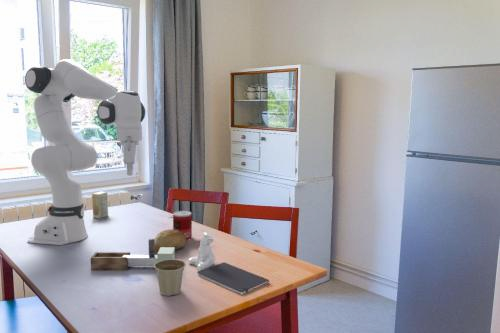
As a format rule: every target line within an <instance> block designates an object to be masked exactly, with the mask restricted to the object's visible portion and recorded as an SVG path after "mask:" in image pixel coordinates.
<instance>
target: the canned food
mask: <svg viewBox="0 0 500 333" xmlns="http://www.w3.org/2000/svg"><path fill="white" fill-rule="evenodd" d="M192 216H193V215H192V212H191V211H188V210H178V211H175V212H173V214H172V229H173V230H178V231H181V232H183V233H184V234H185V236H186V242H187V241H190V240H192V236H193V234H192V232H193V229H192V228H193V226H192V225H193V220H192V218H193V217H192Z"/></svg>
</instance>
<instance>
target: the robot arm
mask: <svg viewBox="0 0 500 333" xmlns="http://www.w3.org/2000/svg"><path fill="white" fill-rule="evenodd" d="M24 84H25V86H26V88H27V89H28V90H29V91H30V92H32V93H36V94H40V95H38V96H37V97H36V98H34V102H33V107H34V114H35V117H36V121H37V124H38V127H39V130H40V132H41V136H42V137H43V138H44V140H45V141H47V142H49V143H51V144H52V145H47V146H42V147H39V148H36V149H35V150H34V151H33V152H32V155H31V157H30V158H31V161H30V162H31V165H32V168H33V169H34V170H35V171H36V172H38V173H39V174H41V175H42V177H44V178H45V179H46V180H47V181H48V184H49V186H50V189H51V193H52V204H51V205H50V206H49V207H48V208H47V209H46V210H47V211H46V212H48V214H47V216H45V217H44V218H43V219H41V220H40V221H39V222H38V223H37V224H36V225H35V226H34V230H33V231H34V232H33V234H32V235H30V236H29V237H28V239H27V241H28V243H29V244H41V245H42V244H43V245H54V246H55V245H56V246H63V245H64V246H65V245H66V244H70V243H76V242H79V241H83V240H85V239H86V238H88V236H89V235H88V232H87V229H86V225H85V220H84V216H85V209H84V208H85V207H84V203H83V193H82V192H83V189H82V186H81V184H80V183H79V182H77V181H75V180H73V179H70V178H69V175H68V173H69V172H77V171H84V170H87V169H90V168H93V167H94V166H95V165H96V163H97V161H98V152H97V151H96V149H95V147H94V146H93V145H92V144H89V143H87V142H85V141H83V140H82V139H81V138H79V136H78V135H76V134H75V133H74V131H73V129H72V127H71V126H70V124H69V122H68V119H67V116H66V114H65V113H66V112H65V111H64V109H63V108H64V107H63V102H64V103H68V102H70V101H71V100H73V98H75V97H77V98H81V99H87V100H98V101H100V103H99V104H98V106H97V117H98V120H99V121H100V122H101V123H102V124H103V125H106V126H107V125H108V126H116V141H119V142H120V145H121V146H123V165H126V175H127V176H133V170H134V167H133V166H134V165H135V162H136V151H137V146H138V145H139V142H140V141H142V140H143V126H142V122H144V119H145V117H146V109H145V106H144V104H143V103H142V101H141V97H140V95H139V93H138V92H136V91H133V90H128V89H118V88H116V87H114V86H113V85H111V84H109V83H107V82H106V81H104V80H102V79H100V78H99V77H97V76H96V75H94V74H93V73H91V72H90V71H89V70H88V69H87V68H85V67H84V66H82V65H81V64H79V63H78V62H76V61H75V60H71V59H66V58H65V59H61V60H60V61H58V62H57V63H56V64H55V66H54V68H49V67H48V66H34V67H30V68H29V69H28V70H27V72H26V73H25V77H24ZM53 144H54V145H53Z"/></svg>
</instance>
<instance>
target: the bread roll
mask: <svg viewBox="0 0 500 333" xmlns="http://www.w3.org/2000/svg"><path fill="white" fill-rule="evenodd" d="M153 239H154V240H155V254H157V253H158V251H159V249H160V247H175V250H178V249H181V248H183V247H185V245H186V244H187V241H186V236H185V234H184V233H183V232H181V231H178V230H173V228H172V229H166V230H165V229H164V230H162V231H160V232H158V234H157V235H156V236H155V237H154V238H153Z"/></svg>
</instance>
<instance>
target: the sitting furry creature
mask: <svg viewBox="0 0 500 333" xmlns="http://www.w3.org/2000/svg"><path fill="white" fill-rule="evenodd" d="M213 242H214V238H213V236H212V234H210V233H208V232H203V233H202V236H201V238H200V242H199V244H200V245H199V248H198V249H197V250H198V254H197V256H191V257H189V258H188V264H189V265H195V266H196V271H197V272H198V271H201V270H204V269H206V268H209V267H212V266H214V264H215V262H216V260H217V258H216V255H215V254H214V252H213V249H212V247H211V244H212V243H213Z"/></svg>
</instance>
